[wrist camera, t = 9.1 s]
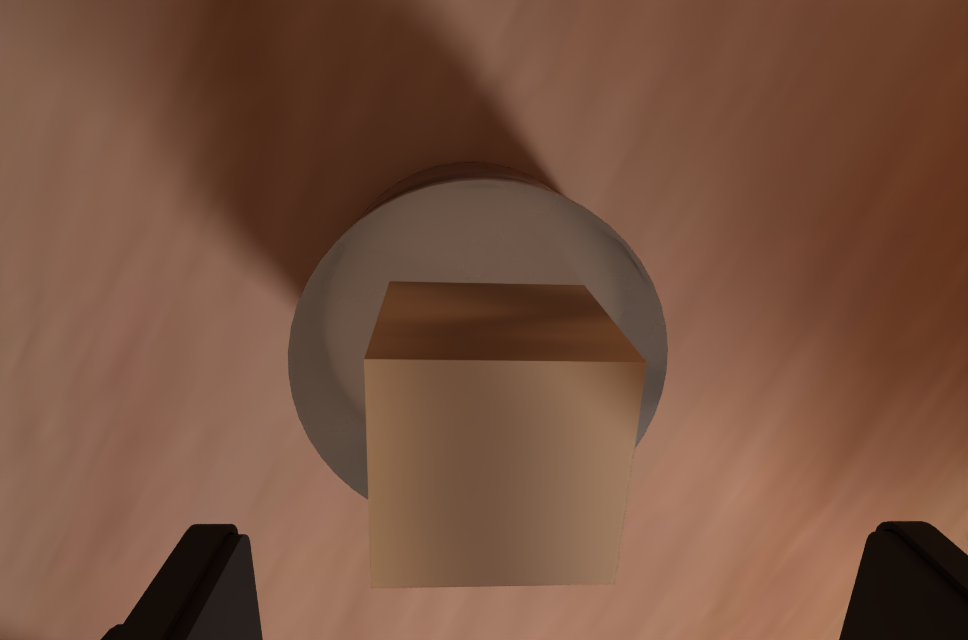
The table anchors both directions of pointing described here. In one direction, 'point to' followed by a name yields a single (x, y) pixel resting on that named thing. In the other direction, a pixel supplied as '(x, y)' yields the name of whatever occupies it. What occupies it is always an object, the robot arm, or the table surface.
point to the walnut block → (498, 436)
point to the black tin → (457, 259)
